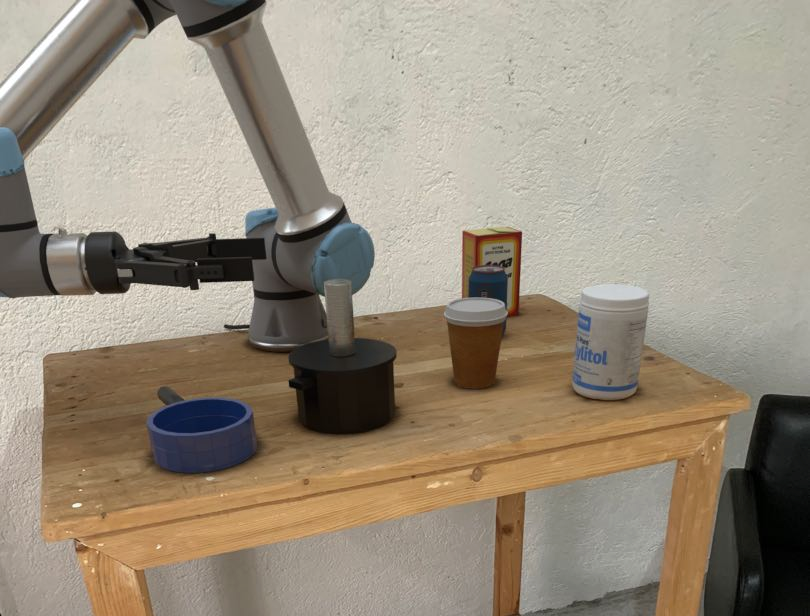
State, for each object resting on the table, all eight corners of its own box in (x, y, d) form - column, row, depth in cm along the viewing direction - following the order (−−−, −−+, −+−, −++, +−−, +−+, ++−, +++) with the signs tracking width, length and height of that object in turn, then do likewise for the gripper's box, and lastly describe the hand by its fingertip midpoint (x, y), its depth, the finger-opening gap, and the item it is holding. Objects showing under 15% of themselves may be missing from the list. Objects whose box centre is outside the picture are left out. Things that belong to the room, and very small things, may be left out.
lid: (266, 366, 108) (256, 286, 103) (338, 340, 118) (333, 265, 113) (348, 386, 100) (342, 300, 95) (418, 356, 110) (416, 277, 105)
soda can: (496, 329, 149) (498, 262, 143) (512, 338, 144) (514, 269, 138) (462, 333, 148) (462, 266, 142) (476, 343, 142) (477, 273, 136)
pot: (265, 426, 111) (257, 367, 106) (354, 387, 123) (350, 333, 119) (338, 449, 103) (333, 386, 99) (424, 405, 116) (423, 347, 112)
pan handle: (156, 400, 114) (153, 386, 113) (171, 397, 115) (169, 382, 114) (180, 422, 106) (177, 406, 105) (195, 418, 107) (193, 403, 106)
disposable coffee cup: (502, 393, 119) (504, 313, 113) (439, 391, 121) (438, 311, 115) (507, 373, 127) (510, 297, 121) (449, 371, 129) (448, 296, 123)
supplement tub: (559, 393, 119) (566, 293, 111) (591, 376, 125) (599, 280, 117) (619, 407, 113) (630, 302, 106) (649, 388, 119) (662, 288, 112)
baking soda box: (474, 320, 155) (475, 233, 147) (461, 312, 160) (462, 228, 152) (518, 315, 158) (522, 229, 150) (504, 307, 163) (507, 224, 155)
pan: (141, 446, 106) (133, 411, 103) (234, 424, 112) (229, 390, 109) (173, 482, 96) (165, 444, 93) (273, 455, 102) (268, 419, 99)
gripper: (52, 250, 89) (242, 244, 89) (113, 217, 110) (266, 213, 111) (67, 318, 93) (250, 311, 93) (124, 273, 114) (272, 268, 115)
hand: (259, 258), depth 102 cm, fingers open, 13 cm apart
